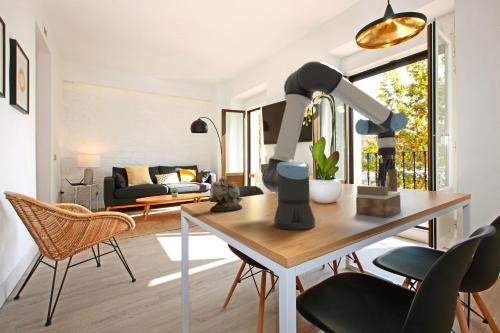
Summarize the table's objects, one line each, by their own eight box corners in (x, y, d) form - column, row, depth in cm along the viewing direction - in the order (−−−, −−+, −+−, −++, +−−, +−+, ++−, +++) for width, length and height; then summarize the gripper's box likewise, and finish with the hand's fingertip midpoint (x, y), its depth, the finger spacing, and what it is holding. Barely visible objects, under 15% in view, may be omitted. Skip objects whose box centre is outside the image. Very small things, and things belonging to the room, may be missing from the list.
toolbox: (356, 213, 109) (356, 197, 109) (372, 207, 120) (372, 193, 120) (386, 217, 100) (385, 200, 100) (400, 210, 112) (400, 195, 111)
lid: (356, 197, 109) (356, 186, 109) (372, 192, 120) (372, 182, 120) (385, 199, 100) (385, 187, 100) (399, 194, 112) (399, 183, 111)
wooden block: (377, 206, 123) (376, 169, 122) (392, 204, 127) (391, 168, 127) (384, 207, 119) (383, 169, 119) (399, 205, 124) (398, 168, 124)
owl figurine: (214, 214, 119) (212, 178, 119) (204, 211, 129) (203, 177, 129) (246, 209, 128) (245, 175, 128) (235, 206, 138) (234, 175, 138)
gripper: (386, 146, 112) (387, 196, 112) (402, 147, 127) (404, 191, 127) (369, 147, 118) (370, 195, 118) (386, 148, 133) (387, 190, 133)
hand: (387, 193), depth 123 cm, fingers open, 9 cm apart
